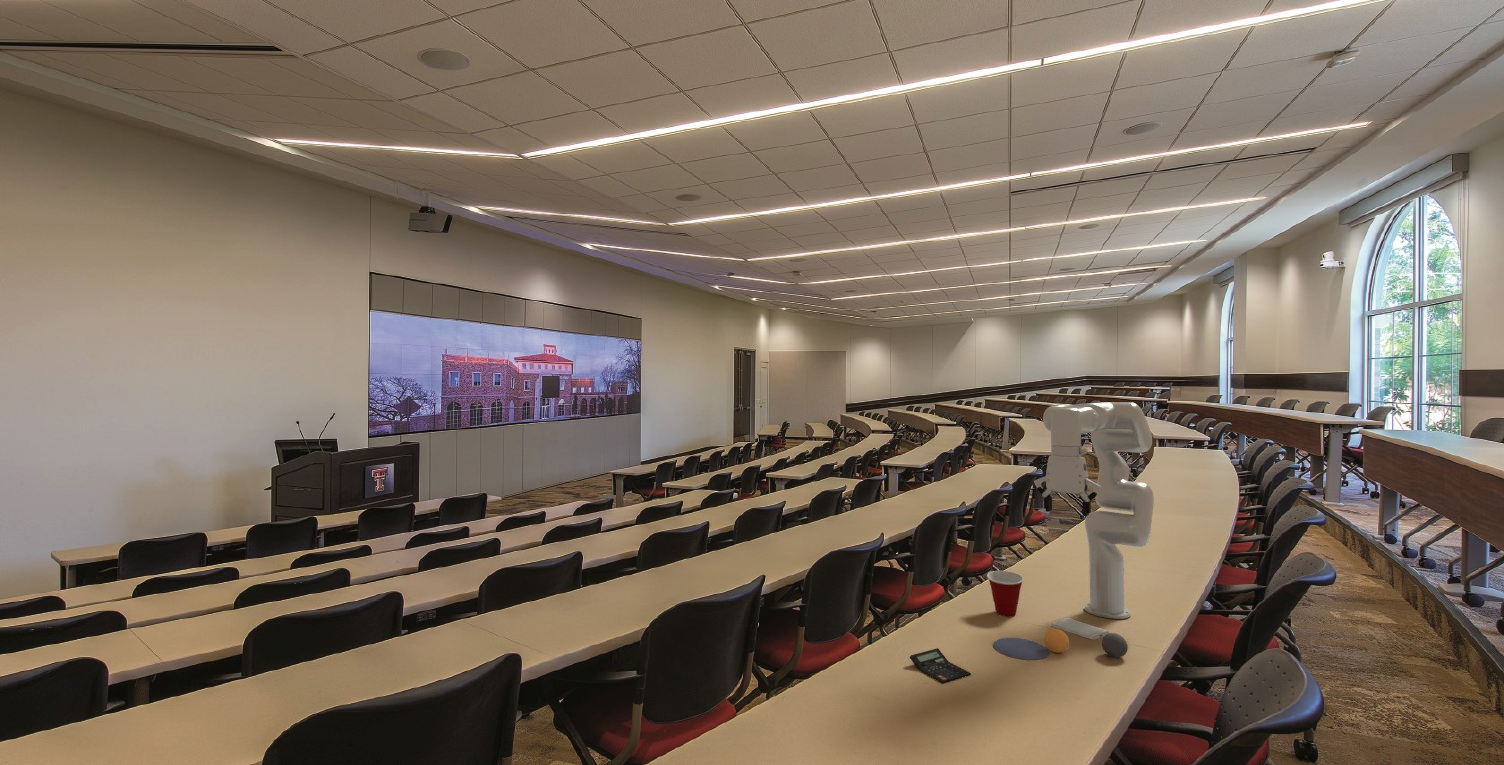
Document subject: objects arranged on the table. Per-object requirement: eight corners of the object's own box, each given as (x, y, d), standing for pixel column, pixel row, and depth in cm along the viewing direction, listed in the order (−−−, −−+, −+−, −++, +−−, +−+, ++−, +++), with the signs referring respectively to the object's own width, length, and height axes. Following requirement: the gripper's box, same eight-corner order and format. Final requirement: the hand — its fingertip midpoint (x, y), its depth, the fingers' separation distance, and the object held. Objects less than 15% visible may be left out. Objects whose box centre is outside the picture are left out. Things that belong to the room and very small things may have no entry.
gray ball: (1098, 651, 167) (1098, 628, 167) (1123, 653, 165) (1123, 630, 166) (1105, 660, 161) (1105, 637, 161) (1131, 662, 160) (1130, 639, 160)
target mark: (990, 636, 177) (990, 635, 177) (1043, 640, 174) (1043, 640, 174) (996, 657, 164) (996, 656, 164) (1054, 662, 160) (1054, 661, 160)
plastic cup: (987, 617, 192) (986, 578, 192) (987, 606, 202) (987, 569, 202) (1025, 622, 188) (1024, 582, 188) (1024, 610, 198) (1023, 572, 198)
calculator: (942, 685, 150) (942, 672, 150) (909, 666, 160) (909, 654, 160) (970, 676, 154) (970, 664, 154) (936, 658, 164) (936, 647, 164)
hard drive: (1051, 623, 185) (1093, 636, 174) (1067, 617, 189) (1108, 630, 179) (1051, 628, 185) (1093, 642, 174) (1067, 622, 189) (1108, 635, 179)
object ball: (1042, 646, 170) (1042, 624, 170) (1066, 648, 169) (1065, 626, 169) (1047, 655, 165) (1046, 632, 165) (1071, 657, 163) (1071, 634, 163)
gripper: (1104, 452, 170) (1105, 515, 170) (1038, 449, 182) (1039, 507, 182) (1096, 455, 165) (1097, 519, 164) (1029, 451, 177) (1030, 511, 176)
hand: (1067, 513), depth 173 cm, fingers open, 9 cm apart
